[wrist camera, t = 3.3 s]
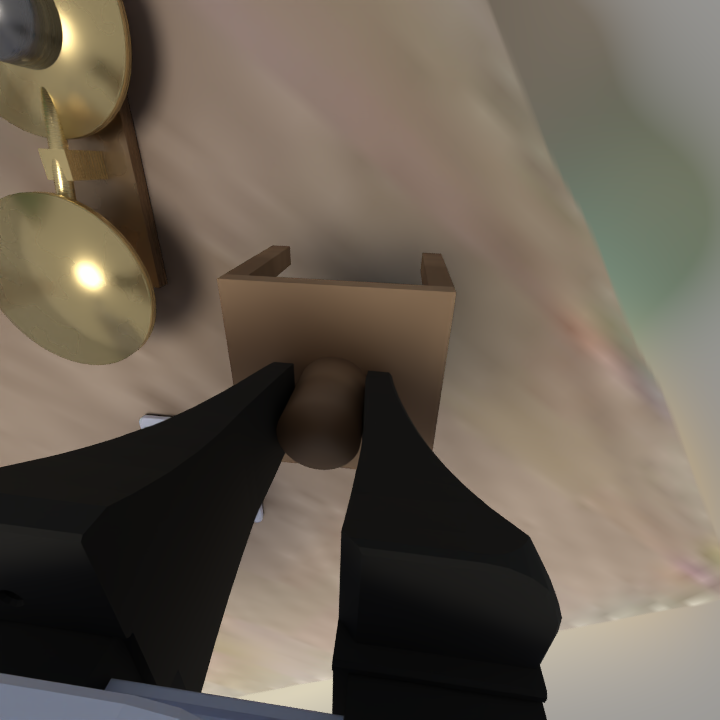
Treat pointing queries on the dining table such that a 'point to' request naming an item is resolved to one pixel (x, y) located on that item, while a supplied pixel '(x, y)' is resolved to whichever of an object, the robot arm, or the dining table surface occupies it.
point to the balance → (77, 184)
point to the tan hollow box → (338, 348)
